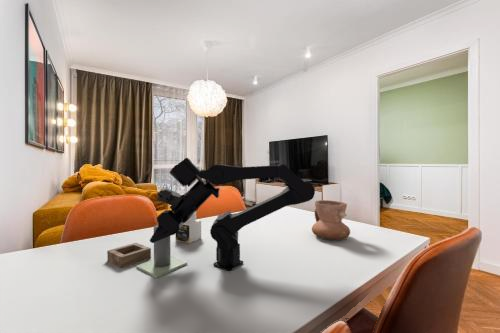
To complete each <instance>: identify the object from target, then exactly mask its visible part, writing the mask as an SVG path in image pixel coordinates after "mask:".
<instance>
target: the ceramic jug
mask: <svg viewBox="0 0 500 333" xmlns="http://www.w3.org/2000/svg"><path fill="white" fill-rule="evenodd" d="M347 206H348V203H347V202H344V201H335V200H324V199H322V200H320V199H319V200H315V201H314V207H315V209H314V219H315V222H314V224H313V225H312V226H311V231H312V233H313V234H314V235H315V236H316V237H318V238H320V239H322V240H326V241H341V240H346V239H347V238H348V237H349V236H350V235H351V229H350V227H349V226H348V225H346V224H345V223H344V222H343V221H342V220H343V218H345V217H347V215H348V214H347V213H346V210H347V208H348V207H347Z"/></svg>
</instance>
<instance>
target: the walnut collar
mask: <svg viewBox="0 0 500 333" xmlns="http://www.w3.org/2000/svg"><path fill="white" fill-rule="evenodd" d="M151 251H152V248H151V247H149V246H146V245H143V244H141V243H138V242H134V243H129V244H127V245H123V246H120V247H115V248H113V249H109V250H107V252H106V253H107V261H108V262H110V263H111V264H114V265H115V266H117V267H118V268H120V269H121V268H125V267H128V266H131V265H134V264H137V263H140V262H142V261H145V260H148V259H151V258H152V252H151Z"/></svg>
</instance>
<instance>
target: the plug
mask: <svg viewBox="0 0 500 333" xmlns="http://www.w3.org/2000/svg"><path fill="white" fill-rule="evenodd" d="M157 227H158V224H157V225H153V233H154V232H155V231H156V229H157ZM171 256H172V255H171V236H168V237H166V238H164V239H161V240H159V241H156V242H154V243H153V260H154V266H155V267H159V268H160V267H166V266H168V265H170V263H171Z"/></svg>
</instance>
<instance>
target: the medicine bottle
mask: <svg viewBox="0 0 500 333" xmlns="http://www.w3.org/2000/svg"><path fill="white" fill-rule="evenodd" d="M200 239H202V220H201V219H200V220H199V219H197V211H195V212H194V213H193V215H192V216H191V217H190V218H189V219H188V220H187V221H186V222H185V223H183V226H182V227H181V228H180V229H179V230H178V231H177V232H176V233H175V241H176V242H180V243H186V244H191V243H193V242H196V241H198V240H200Z"/></svg>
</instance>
